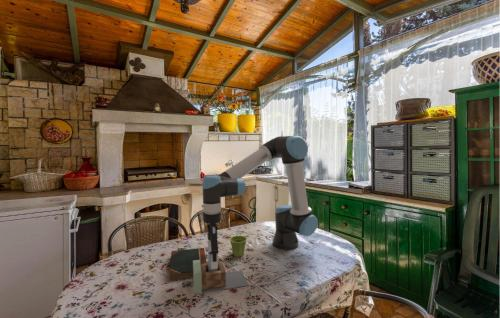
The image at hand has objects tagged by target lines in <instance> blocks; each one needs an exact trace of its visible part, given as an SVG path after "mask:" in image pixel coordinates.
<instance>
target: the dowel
mask: <svg viewBox="0 0 500 318" xmlns="http://www.w3.org/2000/svg"><path fill="white" fill-rule="evenodd" d="M210 252H211V251H209V252H208V251H207V255H208V256H207V259H208V261H207V263H208V272H212V271H218V268H217V269H211V254H210Z"/></svg>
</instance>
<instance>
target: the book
mask: <svg viewBox="0 0 500 318" xmlns="http://www.w3.org/2000/svg"><path fill="white" fill-rule="evenodd" d="M194 260H200V264H204V263H208V261H207V258H206V252H205V248H204V247H198V248H190V249H189V248H187V249H178V250H177V249H176V250H172V251H171V254H170V260H169V267H168V268H169V269H168V276H169V281H176V280H185V279H190V278H191V279H192V278H193V261H194Z"/></svg>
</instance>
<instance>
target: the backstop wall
mask: <svg viewBox="0 0 500 318" xmlns="http://www.w3.org/2000/svg"><path fill="white" fill-rule="evenodd" d="M192 281H193V294H199V293H200V294H201V293H202V275H201V266H200V260H194V261H193V280H192Z"/></svg>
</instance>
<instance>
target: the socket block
mask: <svg viewBox="0 0 500 318" xmlns="http://www.w3.org/2000/svg"><path fill="white" fill-rule="evenodd" d="M200 266H201V275H202V289H209V288H216V287H222V286H226V268H225V265H224V263H223V260H222V261H218V271H212V272H208V262H207V263H204V264H200Z"/></svg>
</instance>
